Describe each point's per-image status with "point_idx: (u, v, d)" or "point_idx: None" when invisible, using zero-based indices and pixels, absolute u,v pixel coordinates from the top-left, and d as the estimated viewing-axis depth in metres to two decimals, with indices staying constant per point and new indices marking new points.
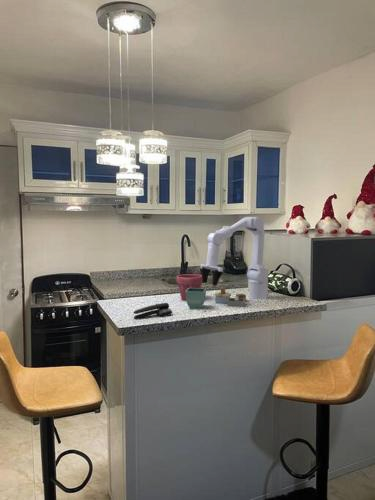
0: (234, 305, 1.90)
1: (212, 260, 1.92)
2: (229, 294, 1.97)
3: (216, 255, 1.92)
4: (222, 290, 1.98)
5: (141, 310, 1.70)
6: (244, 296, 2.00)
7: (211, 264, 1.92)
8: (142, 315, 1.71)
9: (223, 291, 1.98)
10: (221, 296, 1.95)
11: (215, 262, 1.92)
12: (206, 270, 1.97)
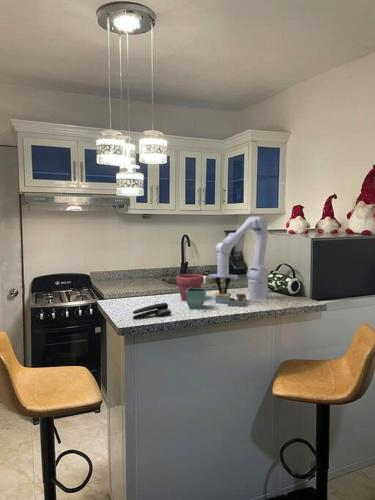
0: (234, 305, 1.90)
1: (227, 270, 1.96)
2: (229, 294, 1.97)
3: (226, 264, 1.96)
4: (222, 290, 1.98)
5: (140, 310, 1.70)
6: (244, 296, 2.00)
7: (226, 274, 1.96)
8: (141, 315, 1.70)
9: (223, 291, 1.98)
10: (221, 296, 1.95)
11: (228, 271, 1.98)
12: (220, 280, 1.99)
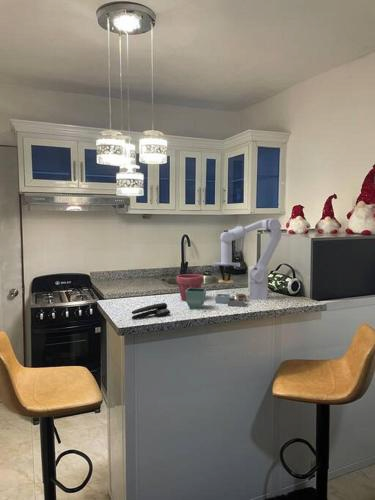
0: (234, 305, 1.90)
1: (230, 258, 2.05)
2: (232, 281, 2.07)
3: (227, 253, 2.05)
4: (225, 277, 2.07)
5: (139, 310, 1.69)
6: (244, 296, 2.00)
7: (229, 262, 2.05)
8: (140, 315, 1.70)
9: (226, 278, 2.07)
10: (224, 283, 2.05)
11: (231, 259, 2.07)
12: (223, 267, 2.08)
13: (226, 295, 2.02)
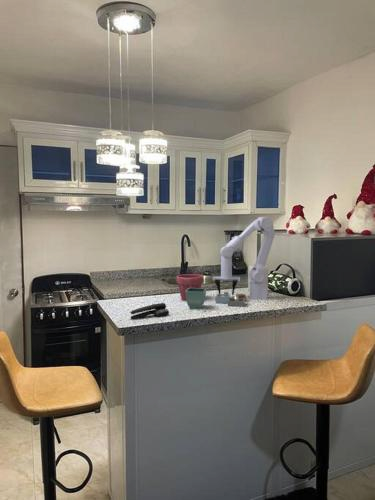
0: (234, 305, 1.90)
1: (230, 272, 2.06)
2: None
3: (227, 267, 2.05)
4: None
5: (138, 310, 1.69)
6: (244, 296, 2.00)
7: (229, 276, 2.06)
8: (139, 315, 1.70)
9: None
10: None
11: (231, 273, 2.08)
12: (219, 282, 2.09)
13: (226, 295, 2.02)
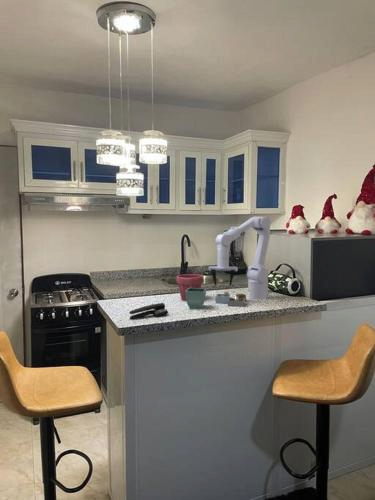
0: (234, 305, 1.90)
1: (227, 261, 1.96)
2: None
3: (226, 256, 1.95)
4: None
5: (137, 310, 1.69)
6: (244, 296, 2.00)
7: (226, 266, 1.96)
8: (138, 315, 1.70)
9: None
10: None
11: (228, 263, 1.97)
12: (215, 272, 1.99)
13: (226, 295, 2.02)
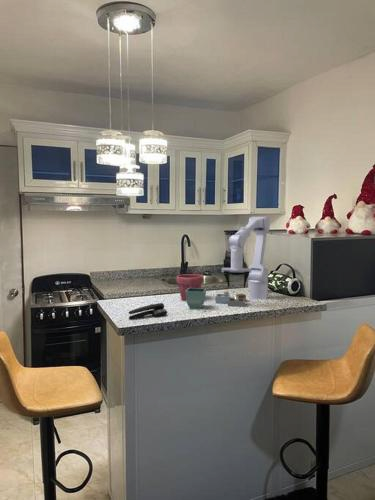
0: (234, 305, 1.90)
1: (240, 263, 1.90)
2: None
3: (241, 257, 1.90)
4: None
5: (136, 310, 1.69)
6: (244, 296, 2.00)
7: (240, 267, 1.90)
8: (137, 315, 1.70)
9: None
10: None
11: (242, 264, 1.91)
12: None
13: (226, 295, 2.02)
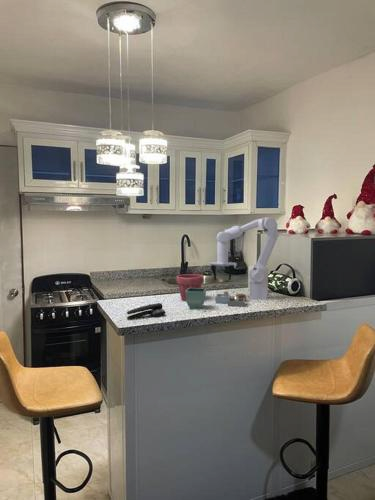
0: (234, 305, 1.90)
1: (226, 257, 2.06)
2: (232, 297, 2.10)
3: (223, 252, 2.05)
4: None
5: (134, 310, 1.69)
6: (244, 296, 2.00)
7: (226, 261, 2.06)
8: (135, 315, 1.70)
9: None
10: None
11: (227, 259, 2.07)
12: (215, 267, 2.09)
13: (226, 295, 2.02)
